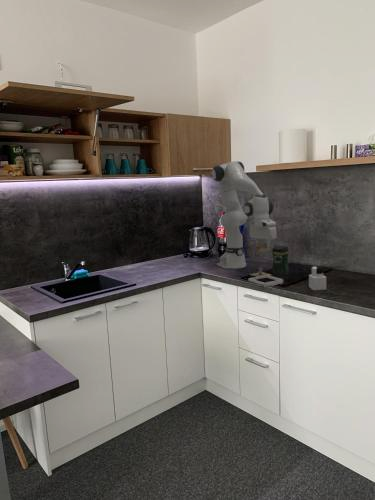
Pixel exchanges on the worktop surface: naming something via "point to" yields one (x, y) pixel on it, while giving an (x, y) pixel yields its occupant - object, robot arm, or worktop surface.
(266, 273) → the stake
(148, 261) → the worktop surface
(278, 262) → the coffee jar
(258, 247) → the collar
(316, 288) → the medicine bottle
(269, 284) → the tray
